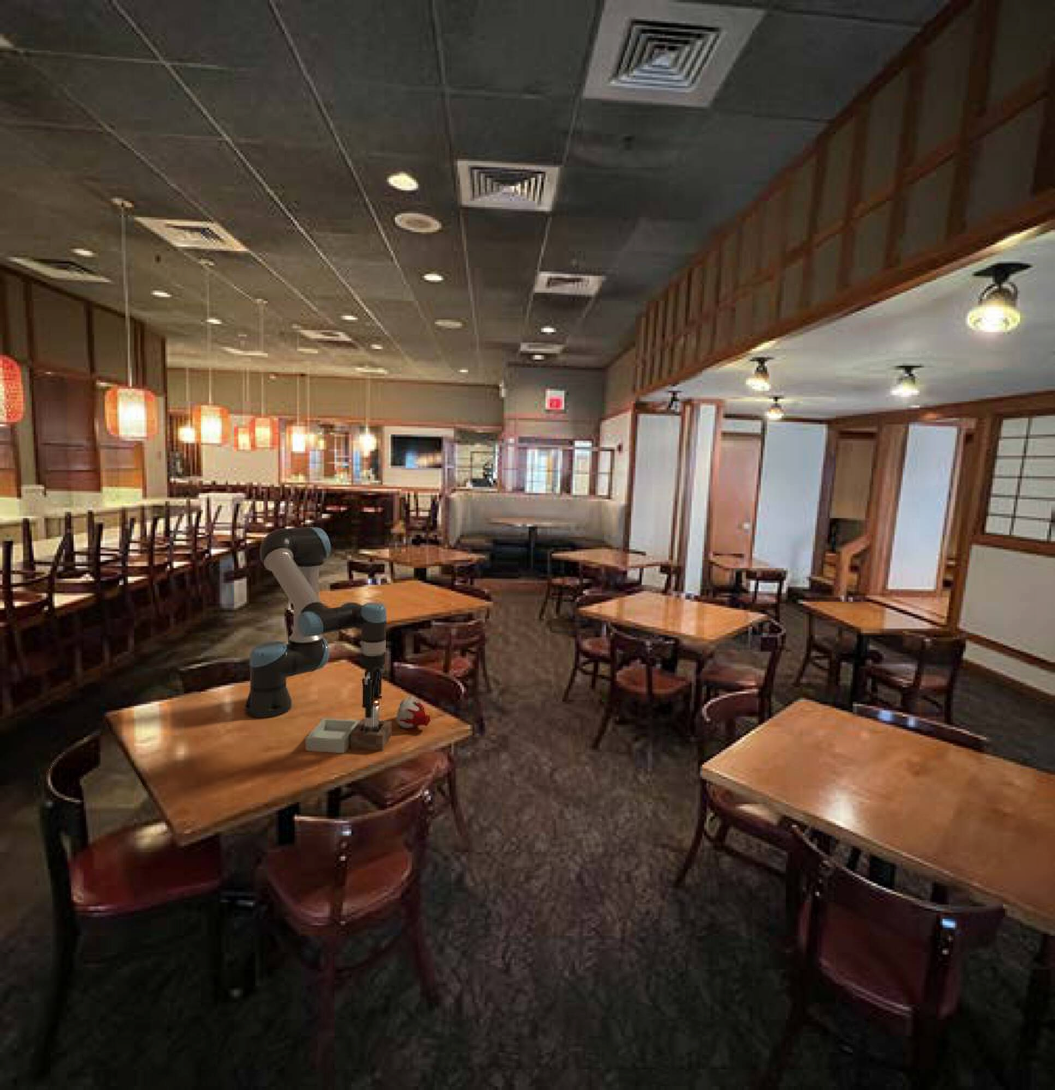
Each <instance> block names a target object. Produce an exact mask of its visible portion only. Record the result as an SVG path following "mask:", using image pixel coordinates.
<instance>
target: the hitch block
mask: <svg viewBox="0 0 1055 1090" xmlns="http://www.w3.org/2000/svg"><path fill="white" fill-rule="evenodd" d="M359 721H360V722H359V724H358V725H357V726H356V727H355V729H354V730H353V731H352V733H351V744H350V749H353V750H366V751H367V750H368V751H377V752H378V751H379V752H380V751H383V750H384V749H385V747H386V745H387V743H388V742H389V741H390V739H391V737H392V721H390V720H389V721H388V720H379V732H367V731H365V718H363V719H361V720H359Z"/></svg>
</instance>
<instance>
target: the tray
mask: <svg viewBox="0 0 1055 1090" xmlns="http://www.w3.org/2000/svg"><path fill="white" fill-rule="evenodd" d="M360 721H361V720H356V719H343V718H341V719H340V718H327V717H324V718H323V719H322V720H321V721H320V722H319V723H318V724H317V725H316V727H315V728H313V729H312V731H310V733H309V734H308V735H307V736H306V737H305V751H311V752H324V753H338V754H339V753H340V754H345V753H346V752H347V750H348V749H349V747H351V733H352V731H353V730H354V729H355V727H356V726H357V725H358V724H359V722H360Z"/></svg>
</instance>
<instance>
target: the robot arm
mask: <svg viewBox="0 0 1055 1090" xmlns="http://www.w3.org/2000/svg"><path fill="white" fill-rule="evenodd" d="M331 549H332V548H331V542H330V539H329V536H328V535H327V533H326V532H325V530H323V529H322V528H320V527H312V526H310V527H309V526H307V527H292V528H291V527H290V528H277V529H275V530H272V531H271V532H269V533H268V534H267V535H266V536H265V537H264V538H263V540H262V541H261V544H260V548H259V557H260V559H261V562H262V564H263V566H264V567H265V569H266V570H268V571H270V572H272V574H273V576H274V578H276V580H277V582H278V583H279V585H280V587H281V588H282V589H283V591H284V593H285V594H286V596H287V597H288V599H289V601H290V602H291V603H292V605H293V628H292V629H293V633H292V634H291V635H290V636H289V637H288V643H287V644H286V642H284V641H269V642H264V643H261V644H259V645H257V646H255V647H254V648H253V649H252V650H251V651H250V653H249V680H250V681H249V689H250V690H249V694H248V696H247V699H246V701H245V704H244V713H245V715H247V716H248V717H250V718H254V719H255V718H257V719H267V718H273V717H277V716H280V715H284V714H285V713H287V712H289V711H290V710H291V708H292V706H293V704H292V698H291V695H290V692H289V690H288V686H287V678H290V677H294V676H298V675H302V674H306V673H313V672H315V671H317V670H321V669H322V668H323V667H325V666H326V664H327V663H328V661H329V656H330V647H329V644H328V641H327V639H325V638H324V636H323V635H325V634H330V633H334V632H341V631H345V630H351V629H356V630H358V631H360V641H359V645H360V652H361V653H360V665H361V667H364V668H365V672H364V677H365V678H364V677H363V678H362V679H361V683H362V705H361V707H362V709H364V719H365V726H369V727H373V726H374V706H373V701H374V698H378V699H379V700H382V699H383V696H382V690H383V689H382V686H383V685H382V684H383V683H382V682H383V680H382V679H383V668H384V665H385V664H386V650H387V649H386V647H387V646H386V645H387V643H386V642H387V638H386V637H387V635H386V634H387V618H388V617H387V607H386V605H385V604H383V603H381V602H367V603H364V604H360V603H357V602H354V601H347V602H344V603H343V604H341V605H340V606H336V607H329V608H326V606H325V605H324V603H322V601H321V599H320V569H321V568H322V567H323V566H324V563H325V562H324V560H325V559H327V558H329V557H330V554H331Z"/></svg>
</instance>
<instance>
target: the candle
mask: <svg viewBox="0 0 1055 1090" xmlns="http://www.w3.org/2000/svg"><path fill="white" fill-rule="evenodd" d="M396 722H397V724H398V725H399V726H400V727H401V728H402V729H406V730H409V729H414V728H417V727H419V726H425V727H427V726H428V725H429V724H430V722H431V716H430V715H428V714H426V712H425V707H424V703H423V701H422V700H421V699H418V698H417V697H415V696H413V695H411V696H409V697H404V698H402V700H401V701H400V703H399V707H398V709H397V714H396Z"/></svg>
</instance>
